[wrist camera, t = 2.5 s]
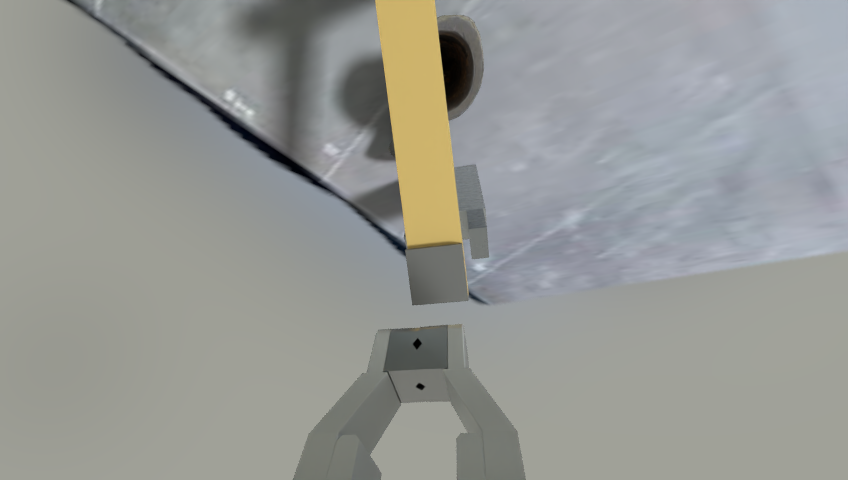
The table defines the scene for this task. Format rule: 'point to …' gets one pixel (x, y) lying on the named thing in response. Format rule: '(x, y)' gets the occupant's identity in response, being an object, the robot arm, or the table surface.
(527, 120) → the table surface
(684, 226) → the table surface
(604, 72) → the table surface
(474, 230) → the stop block
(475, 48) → the pipe
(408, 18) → the yellow bar
